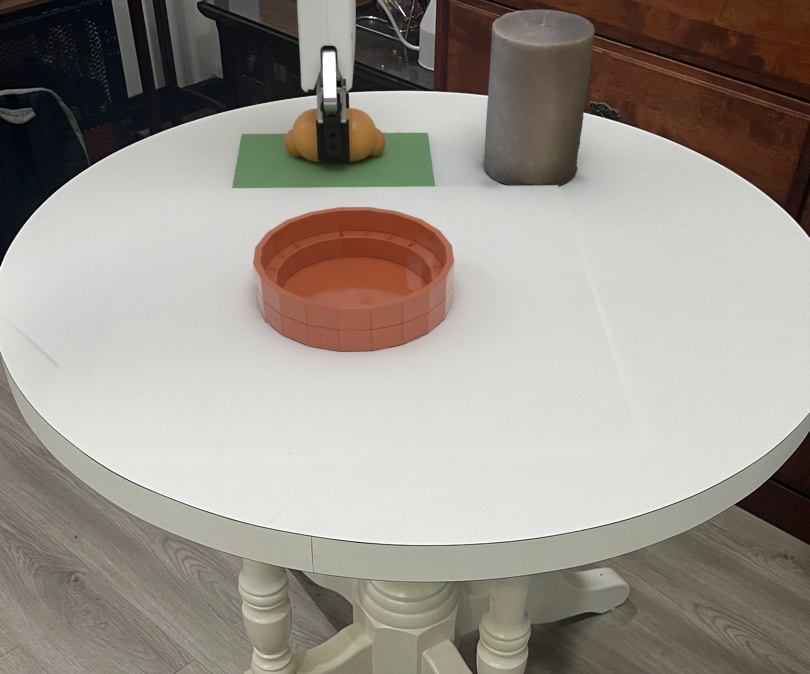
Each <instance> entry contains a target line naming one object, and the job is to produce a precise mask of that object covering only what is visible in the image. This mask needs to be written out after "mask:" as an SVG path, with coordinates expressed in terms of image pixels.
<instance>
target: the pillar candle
mask: <svg viewBox="0 0 810 674" xmlns="http://www.w3.org/2000/svg"><path fill="white" fill-rule="evenodd" d="M595 33H596V32H595V27H594V24H593V23H592V22H591V21H589V19H587V18H585V17H583V16H581V15H577V14H576V13H575V14H574V13H571V12H566V11H560V10H554V9H529V10H528V9H527V10H515V11H513V12H507V13H505V14H503V15H502V16H501V17H498V18H496V19H495V20H494V21H493V22H492V28H491V45H490V46H491V47H490V62H489V75H488V89H487V90H488V92H487V105H486V107H487V108H486V119H485V136H484V137H485V138H484V155H483V167H484V170H485V173H486V174H487V175H488V176H489V177H490V178H491V179H493V180H494V181H496V182H499V183H500V184H503V185H508V186H511V187H521V186H522V187H524V186H525V187H526V186H527V187H528V186H529V187H530V186H531V187H533V186H561V185H565V184H566V183H569V182H570V181H571V180H572V179H574V178H575V176H576V174H577V172H578V158H579V149H580V145H581V137H582V130H583V123H584V113H585V106H586V100H587V95H588V86H589V77H590V72H591V63H592V56H593V48H594V39H595Z"/></svg>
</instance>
